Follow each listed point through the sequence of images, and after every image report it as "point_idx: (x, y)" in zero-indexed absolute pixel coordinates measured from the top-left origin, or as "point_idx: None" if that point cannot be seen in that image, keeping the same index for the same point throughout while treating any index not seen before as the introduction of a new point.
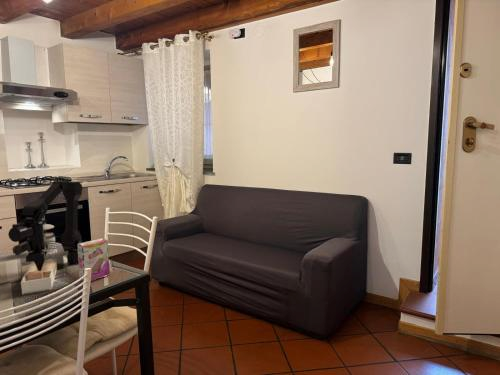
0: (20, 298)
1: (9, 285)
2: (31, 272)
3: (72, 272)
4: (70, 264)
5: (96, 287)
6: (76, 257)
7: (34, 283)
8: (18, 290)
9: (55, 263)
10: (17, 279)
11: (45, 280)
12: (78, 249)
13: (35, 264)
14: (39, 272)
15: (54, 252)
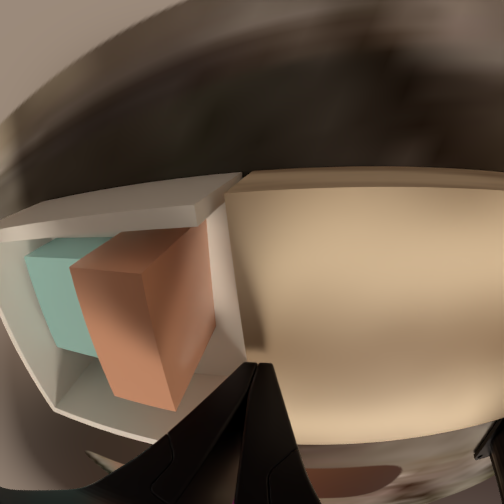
0: (10, 207)
1: (279, 5)
2: (123, 310)
3: (361, 445)
4: (501, 418)
5: (115, 463)
6: (500, 467)
7: (21, 310)
8: (111, 140)
9: (484, 418)
10: (441, 54)
11: (46, 376)
12: None
13: (163, 436)
14: (115, 383)
15: None
